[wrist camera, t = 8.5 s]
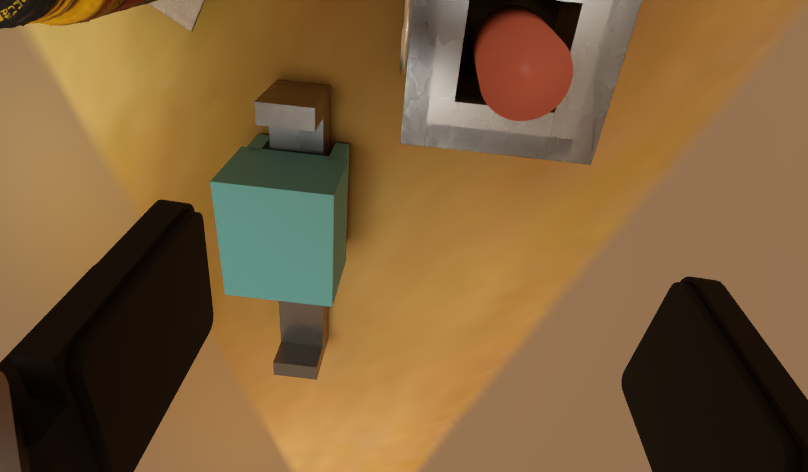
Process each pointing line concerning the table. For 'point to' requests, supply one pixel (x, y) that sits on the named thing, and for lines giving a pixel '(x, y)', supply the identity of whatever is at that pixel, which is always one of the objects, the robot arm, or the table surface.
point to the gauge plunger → (520, 63)
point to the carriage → (282, 223)
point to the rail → (310, 134)
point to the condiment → (89, 10)
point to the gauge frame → (461, 96)
